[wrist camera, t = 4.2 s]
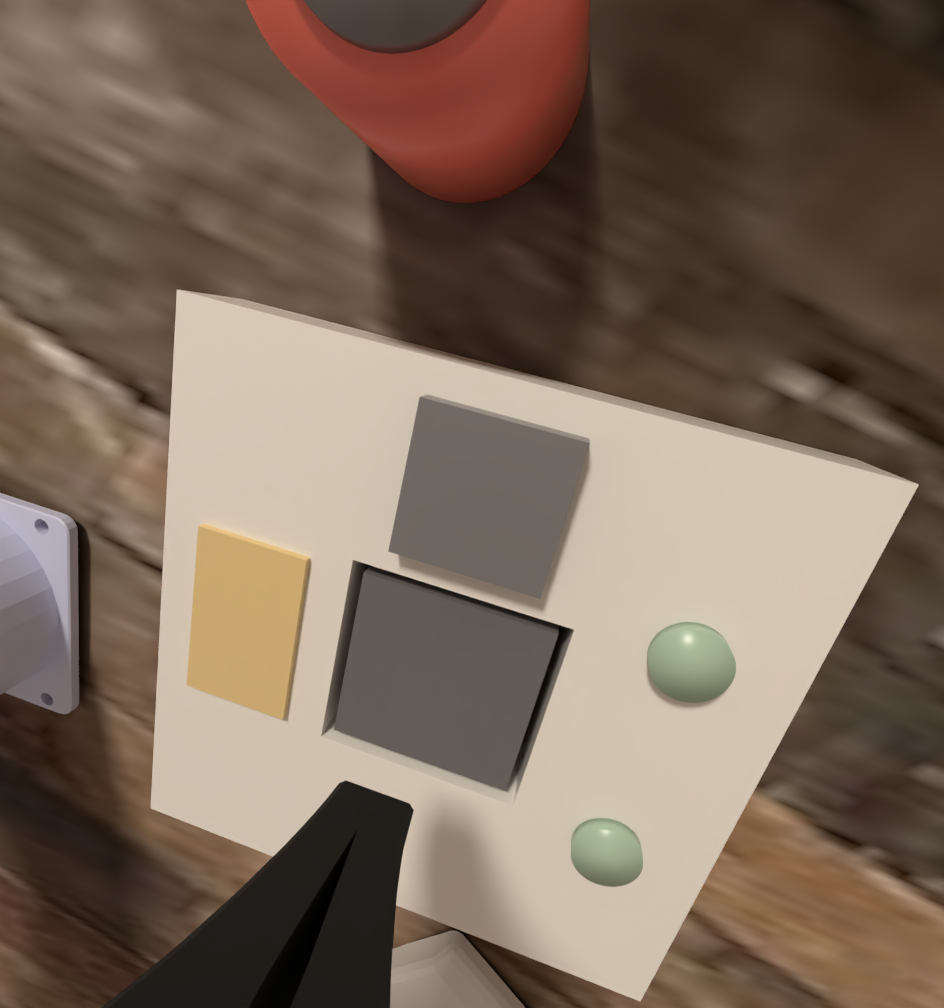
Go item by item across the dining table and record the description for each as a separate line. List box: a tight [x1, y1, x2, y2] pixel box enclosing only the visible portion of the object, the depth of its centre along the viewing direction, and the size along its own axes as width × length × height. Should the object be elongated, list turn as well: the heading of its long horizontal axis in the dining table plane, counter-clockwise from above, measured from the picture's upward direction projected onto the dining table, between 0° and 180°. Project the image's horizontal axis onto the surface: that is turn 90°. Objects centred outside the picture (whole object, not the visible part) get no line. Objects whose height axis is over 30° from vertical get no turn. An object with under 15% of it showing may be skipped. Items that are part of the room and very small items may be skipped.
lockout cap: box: [246, 0, 590, 203], centre depth 9 cm, size 5×5×5 cm
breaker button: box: [334, 566, 559, 791], centre depth 15 cm, size 5×5×2 cm
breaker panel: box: [151, 290, 919, 1001], centre depth 14 cm, size 16×16×3 cm
